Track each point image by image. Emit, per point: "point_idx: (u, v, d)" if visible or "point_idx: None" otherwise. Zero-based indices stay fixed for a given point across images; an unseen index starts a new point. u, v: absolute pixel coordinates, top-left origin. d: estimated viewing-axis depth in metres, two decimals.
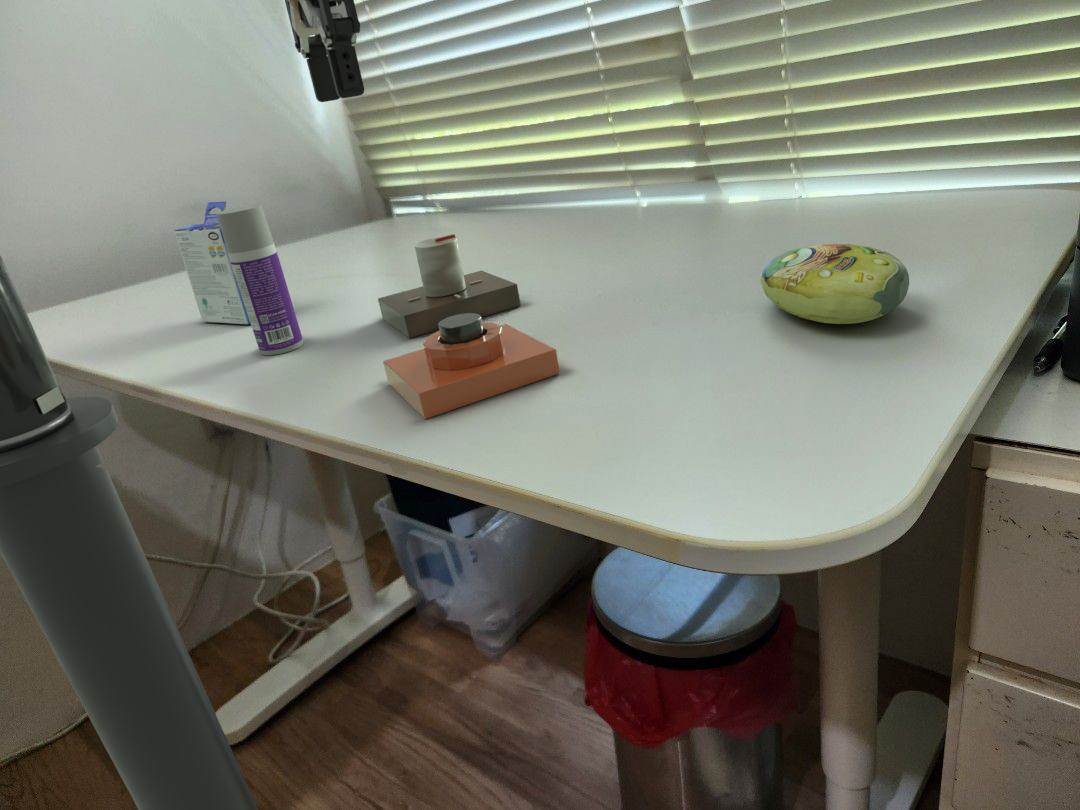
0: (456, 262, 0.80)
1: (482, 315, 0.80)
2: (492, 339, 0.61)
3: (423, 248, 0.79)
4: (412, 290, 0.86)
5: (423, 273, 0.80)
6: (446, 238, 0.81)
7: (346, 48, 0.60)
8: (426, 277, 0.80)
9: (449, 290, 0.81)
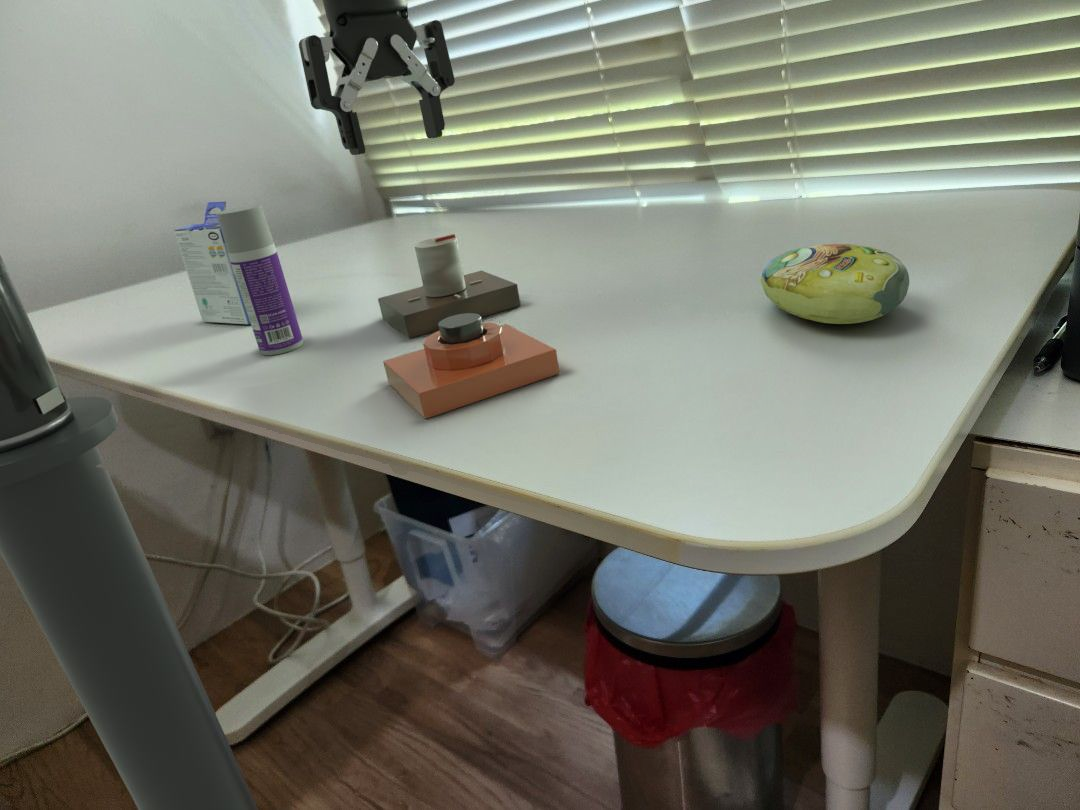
0: (456, 262, 0.80)
1: (482, 315, 0.80)
2: (492, 339, 0.61)
3: (423, 248, 0.79)
4: (412, 290, 0.86)
5: (423, 273, 0.80)
6: (446, 238, 0.81)
7: (339, 116, 0.69)
8: (426, 277, 0.80)
9: (449, 290, 0.81)
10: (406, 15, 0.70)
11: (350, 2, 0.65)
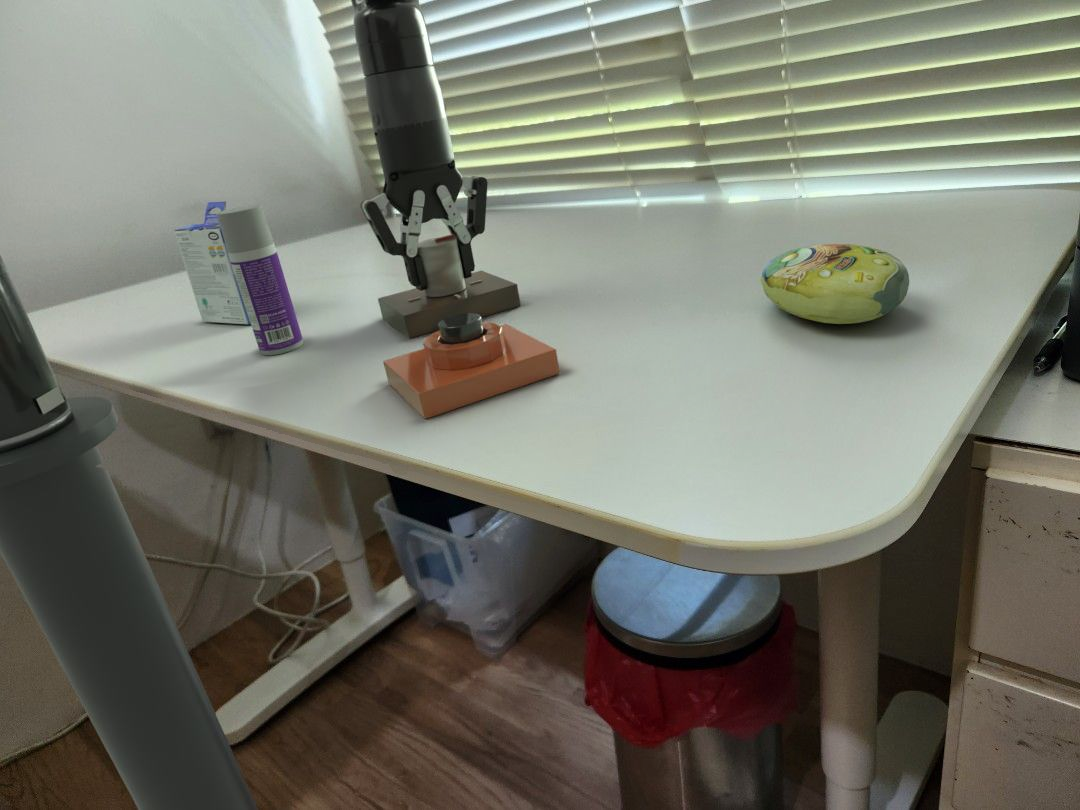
0: (456, 262, 0.80)
1: (482, 315, 0.80)
2: (492, 339, 0.61)
3: (423, 248, 0.79)
4: (412, 290, 0.86)
5: None
6: (446, 238, 0.81)
7: (405, 259, 0.80)
8: (426, 277, 0.80)
9: (449, 290, 0.81)
10: (453, 165, 0.78)
11: (399, 164, 0.74)
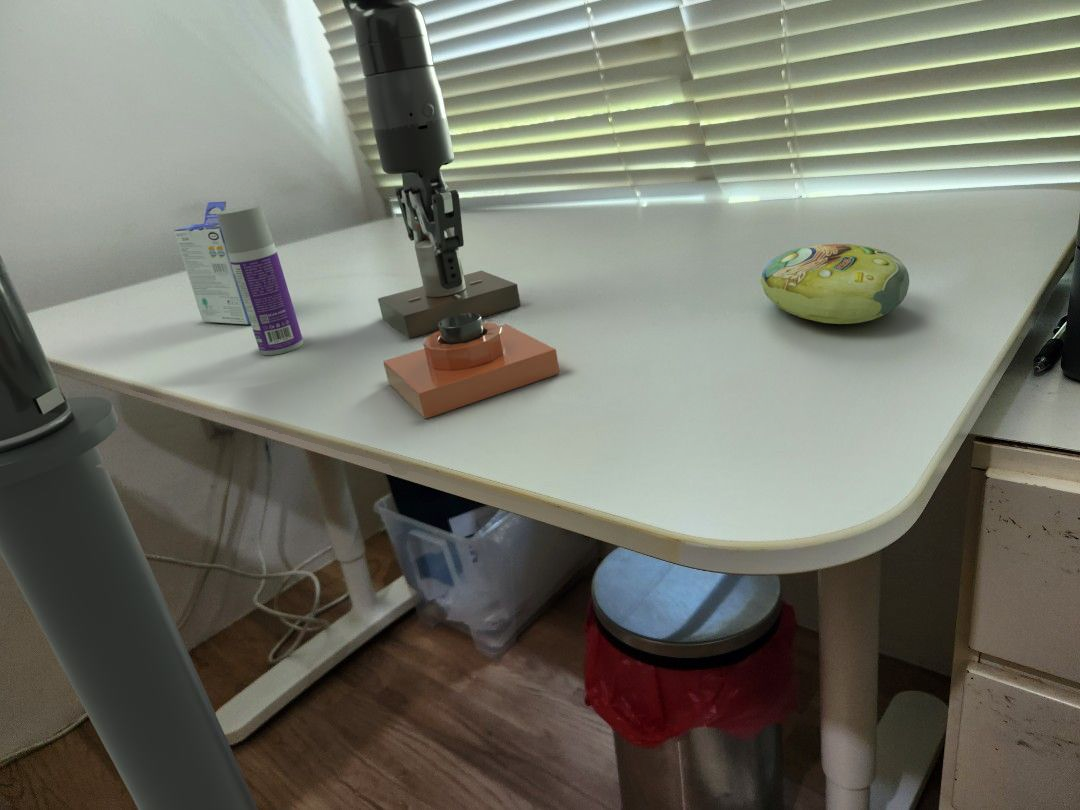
0: None
1: (482, 315, 0.80)
2: (492, 339, 0.61)
3: None
4: (412, 290, 0.86)
5: None
6: None
7: (451, 255, 0.78)
8: None
9: None
10: None
11: (450, 154, 0.76)
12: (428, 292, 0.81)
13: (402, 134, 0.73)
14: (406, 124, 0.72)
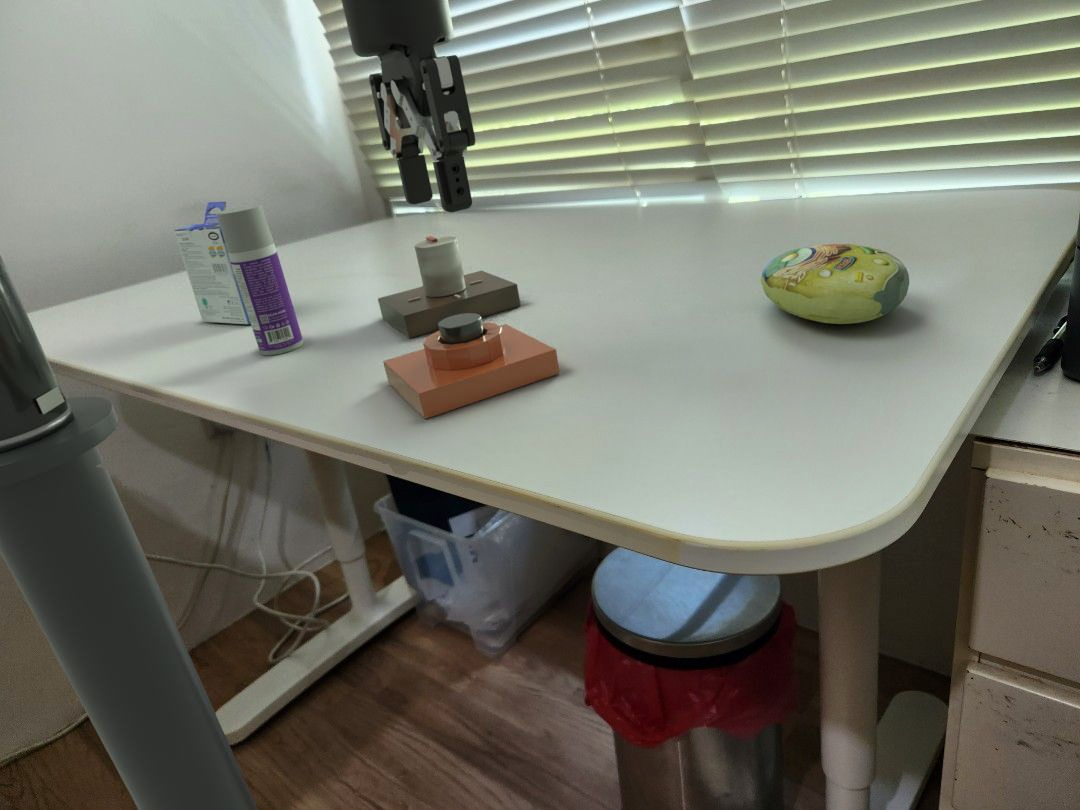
0: None
1: (482, 315, 0.80)
2: (492, 339, 0.61)
3: (453, 242, 0.80)
4: (412, 290, 0.86)
5: (453, 269, 0.80)
6: None
7: (456, 161, 0.54)
8: (456, 272, 0.81)
9: None
10: None
11: (448, 26, 0.54)
12: (428, 292, 0.81)
13: None
14: None
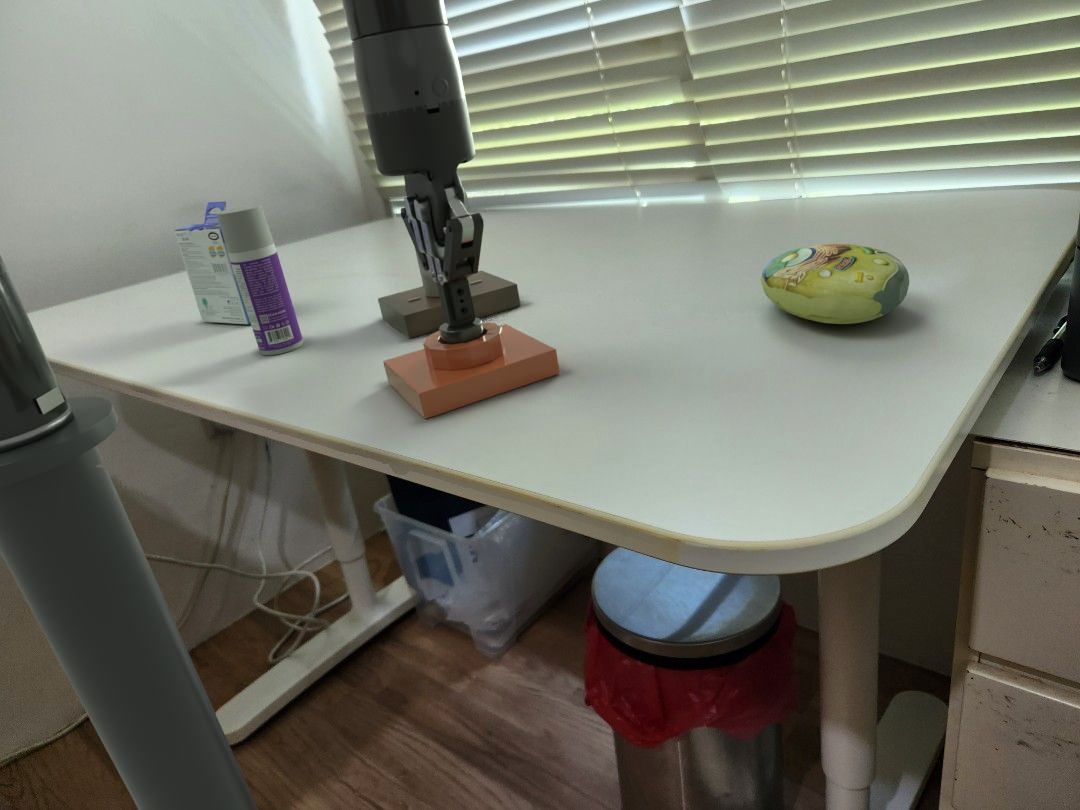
0: None
1: (482, 315, 0.80)
2: (492, 339, 0.61)
3: None
4: (412, 290, 0.86)
5: None
6: None
7: (461, 284, 0.59)
8: None
9: None
10: None
11: (470, 149, 0.55)
12: (428, 292, 0.81)
13: (404, 120, 0.52)
14: (410, 106, 0.52)
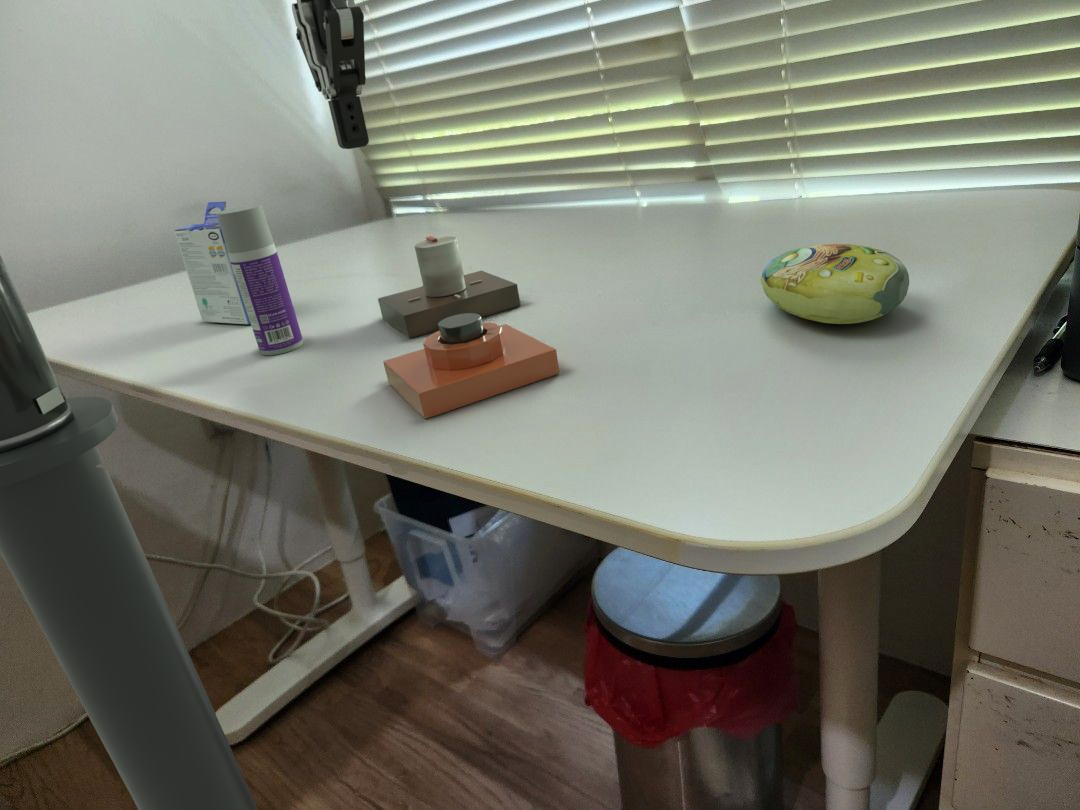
0: None
1: (482, 315, 0.80)
2: (492, 339, 0.61)
3: (453, 242, 0.80)
4: (412, 290, 0.86)
5: (453, 269, 0.80)
6: None
7: (351, 99, 0.58)
8: (456, 272, 0.81)
9: None
10: None
11: None
12: (428, 292, 0.81)
13: None
14: None
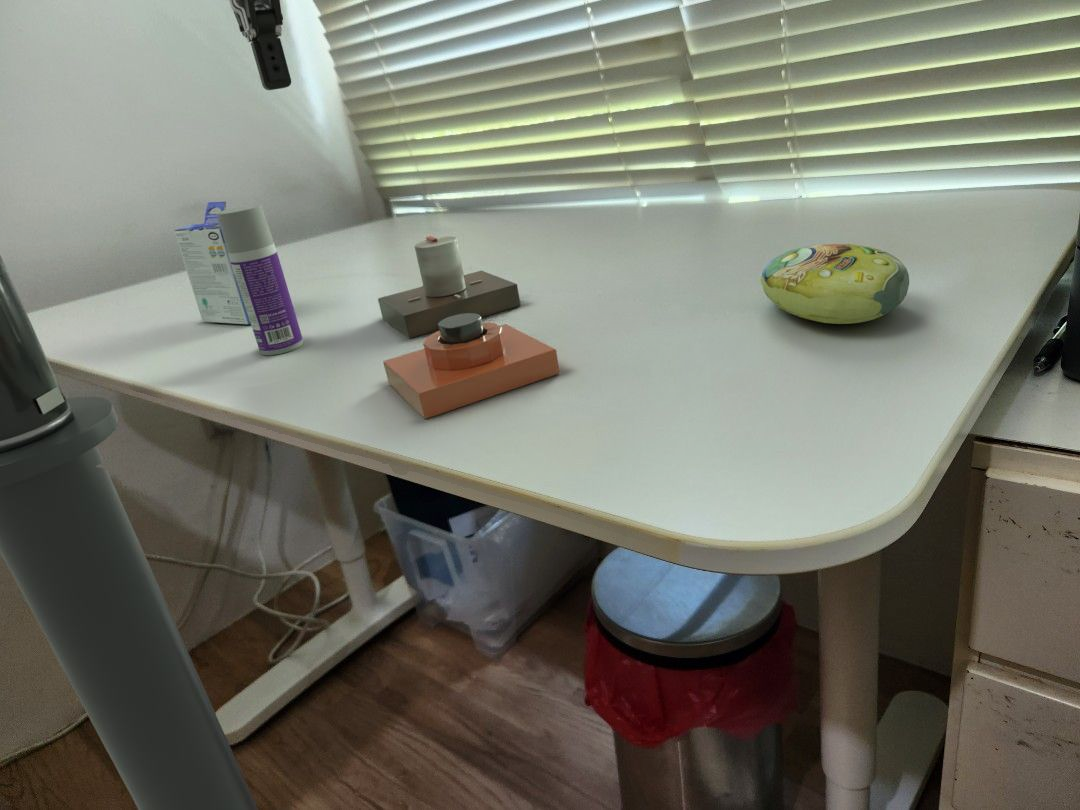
0: None
1: (482, 315, 0.80)
2: (492, 339, 0.61)
3: (453, 242, 0.80)
4: (412, 290, 0.86)
5: (453, 269, 0.80)
6: None
7: (271, 40, 0.61)
8: (456, 272, 0.81)
9: None
10: None
11: None
12: (428, 292, 0.81)
13: None
14: None
